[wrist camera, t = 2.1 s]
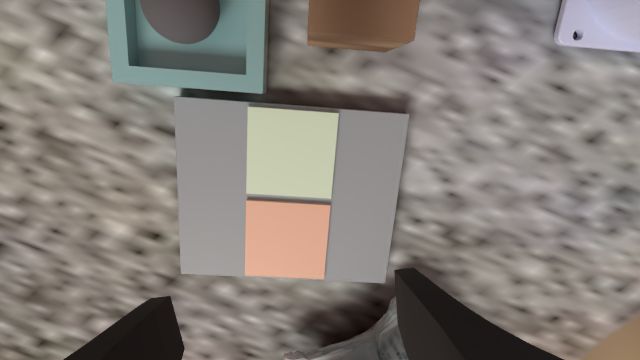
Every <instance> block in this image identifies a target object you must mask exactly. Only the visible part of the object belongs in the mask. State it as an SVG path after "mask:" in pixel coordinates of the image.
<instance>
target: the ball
mask: <svg viewBox="0 0 640 360" xmlns="http://www.w3.org/2000/svg"><path fill="white" fill-rule="evenodd" d="M140 5H141V9H142V12H143V14H144V16H145V18H146V20H147V21H148V23H149V24H150V25H151V27H152V28H153V29H154V30H155V31H156V32H157V33H159V34H160V35H161V36H163V37H164V38H166V39H168V40H170V41H172V42H176V43H180V44H194V43H197V42H200V41H202V40H204V39H206V38H207V37H208V36H210V35H211V33H212V32H213V31H214V29H215V28H216V26H217V24H218V21H219V16H220V2H219V0H140Z"/></svg>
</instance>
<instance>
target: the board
mask: <svg viewBox="0 0 640 360" xmlns="http://www.w3.org/2000/svg"><path fill="white" fill-rule="evenodd" d="M174 112H175V136H176V161H177V185H178V210H179V235H180V259H181V274H201V275H222V276H243V277H264V278H285V279H307V280H328V281H349V282H370V283H385V279H386V272H387V266H388V259H389V252H390V245H391V238H392V231H393V224H394V218H395V211H396V204H397V197H398V190H399V183H400V177H401V170H402V163H403V156H404V149H405V142H406V135H407V129H408V122H409V115H410V114H406V113H397V112H383V111H370V110H357V109H344V108H330V107H317V106H304V105H291V104H277V103H264V102H251V101H238V100H224V99H211V98H198V97H185V96H176V97H174Z"/></svg>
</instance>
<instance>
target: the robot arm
mask: <svg viewBox="0 0 640 360" xmlns="http://www.w3.org/2000/svg"><path fill="white" fill-rule="evenodd" d="M575 31H576V32H577V38H576V40H574V39H573V34H574V32H575ZM554 40H555V42H556V43H557V45H560V46H570V47H582V48H593V49H604V50H615V51H627V52H638V53H640V0H562V4H561V9H560V13H559V17H558V21H557V25H556V29H555V33H554ZM394 271H395V288H396V306H397V323H398V327H399V331H400V334H401V338H402V341H403V345H404V348H405V351H406V355H407V357H408V359H409V360H564V359H561V358H559V357H557V356H555V355H553V354H550V353H548V352H546V351H544V350H541V349H539V348H537V347H535V346H533V345H531V344H529V343H527V342H525V341H523V340H521V339H520V338H518V337H516V336H514V335H512V334H510V333H508V332H507V331H505V330H503V329H501V328H499V327H498V326H496V325H494V324H492V323H491V322H489V321H488V320H486V319H484V318H483V317H481V316H480V315H478V314H476V313H475V312H473V311H472V310H470V309H469V308H467V307H466V306H464V305H463V304H461V303H460V302H458V301H457V300H456V299H454V298H453V297H451V296H450V295H449V294H447V293H446V292H445V291H443V290H442V289H441V288H439V287H438V286H437V285H435V284H434V283H433V282H431V281H430V280H429V279H428V278H426V277H425V276H424V275H422V274H421V273H420V272H419V271H417V270H416V269H415V268H407V269H398V270H394ZM184 349H185V348H184V345H183V341H182V337H181V334H180V330H179V326H178V323H177V319H176V315H175V312H174V308H173V305H172V301H171V297H170V296H166V297H158V298H151V299H149V300H148V301H146V302H144V303H143V304H141V305H140V306H138V307H137V308H135V309H134V310H133V311H131V312H130V313H128V314H127V315H126V316H124V317H123V318H121V319H120V320H119V321H117V322H116V323H115V324H113V325H112V326H110V327H109V328H108V329H106V330H105V331H104V332H102V333H101V334H99V335H98V336H97V337H95V338H94V339H93V340H91V341H90V342H88V343H87V344H86V345H84V346H83V347H81V348H80V349H78V350H77V351H75V352H74V353H72V354H71V355H70V356H68V357H67V358H65V359H64V360H181V359H182V356H183V352H184Z"/></svg>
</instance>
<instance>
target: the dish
mask: <svg viewBox="0 0 640 360" xmlns="http://www.w3.org/2000/svg"><path fill="white" fill-rule="evenodd" d="M105 1H106V13H107V24H108V36H109V47H110V59H111V70H112V81H113V82H115V83H129V84H142V85H155V86H168V87H181V88H194V89H207V90H220V91H233V92H246V93H259V94H264V93H267V64H268V32H269V1H270V0H219V2H220V16H219V21H218V24H217V26H216V28H215V29H214V31H213V32H212V33H211V35H210V36H208V37H207V38H206V39H204V40H202V41H200V42H197V43H194V44H180V43H176V42H172V41H170V40H168V39H166V38H164V37H163V36H161V35H160V34H159V33H157V32H156V31H155V30H154V29H153V28H152V27H151V25H150V24H149V23H148V21H147V20H146V18H145V16H144V14H143V12H142V9H141V5H140V0H105Z"/></svg>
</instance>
